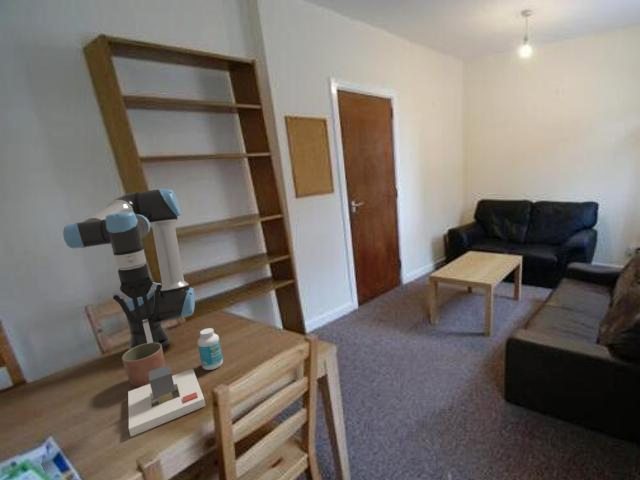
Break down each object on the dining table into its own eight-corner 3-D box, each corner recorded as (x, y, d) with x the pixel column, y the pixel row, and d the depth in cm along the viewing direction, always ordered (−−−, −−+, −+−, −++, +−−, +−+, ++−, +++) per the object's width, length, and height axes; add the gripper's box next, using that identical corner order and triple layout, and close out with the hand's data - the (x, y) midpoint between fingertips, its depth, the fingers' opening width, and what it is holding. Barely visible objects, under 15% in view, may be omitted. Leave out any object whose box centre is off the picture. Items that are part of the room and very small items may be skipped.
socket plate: (130, 398, 110) (127, 390, 110) (194, 374, 120) (192, 367, 119) (130, 436, 93) (128, 427, 92) (205, 405, 102) (203, 397, 102)
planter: (156, 365, 129) (150, 339, 126) (174, 374, 121) (168, 346, 119) (122, 384, 119) (115, 356, 117) (140, 395, 112) (132, 365, 109)
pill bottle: (217, 371, 120) (210, 336, 117) (198, 370, 122) (191, 336, 119) (227, 359, 127) (220, 326, 125) (209, 359, 129) (202, 326, 126)
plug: (155, 400, 107) (148, 371, 105) (175, 392, 110) (169, 364, 108) (156, 410, 102) (149, 380, 100) (177, 402, 105) (171, 373, 103)
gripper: (105, 274, 91) (125, 354, 96) (158, 263, 98) (174, 338, 103) (106, 269, 98) (125, 343, 103) (155, 258, 104) (171, 329, 109)
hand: (150, 341), depth 103 cm, fingers closed
